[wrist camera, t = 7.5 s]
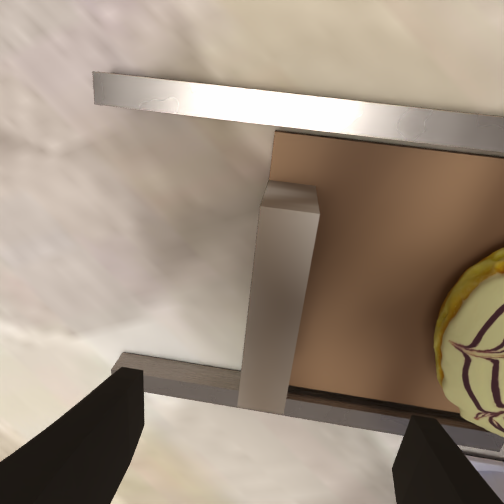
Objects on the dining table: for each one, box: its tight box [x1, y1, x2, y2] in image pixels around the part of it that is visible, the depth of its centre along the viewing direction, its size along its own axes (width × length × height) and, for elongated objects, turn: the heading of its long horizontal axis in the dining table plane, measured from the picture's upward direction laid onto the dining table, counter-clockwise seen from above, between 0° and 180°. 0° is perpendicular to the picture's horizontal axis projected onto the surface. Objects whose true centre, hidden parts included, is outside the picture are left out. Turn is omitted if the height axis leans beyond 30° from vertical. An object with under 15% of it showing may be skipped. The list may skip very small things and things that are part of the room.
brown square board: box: [237, 130, 504, 414], centre depth 16 cm, size 18×13×5 cm
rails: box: [92, 71, 504, 452], centre depth 18 cm, size 16×21×2 cm
